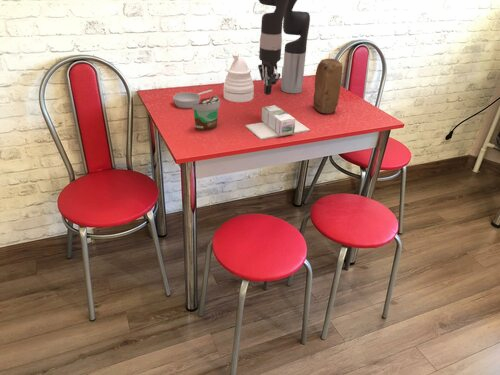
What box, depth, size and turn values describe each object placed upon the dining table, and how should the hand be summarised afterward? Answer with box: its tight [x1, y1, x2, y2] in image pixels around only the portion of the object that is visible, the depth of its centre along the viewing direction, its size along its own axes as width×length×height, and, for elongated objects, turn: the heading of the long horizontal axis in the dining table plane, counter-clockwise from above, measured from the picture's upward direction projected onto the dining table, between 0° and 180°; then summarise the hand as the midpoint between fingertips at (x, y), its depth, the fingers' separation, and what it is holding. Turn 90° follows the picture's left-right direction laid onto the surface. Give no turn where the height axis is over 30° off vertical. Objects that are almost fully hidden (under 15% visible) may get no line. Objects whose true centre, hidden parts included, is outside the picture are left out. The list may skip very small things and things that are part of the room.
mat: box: [245, 119, 311, 141], centre depth 153 cm, size 12×20×1 cm, turn 117°
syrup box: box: [261, 104, 296, 136], centre depth 151 cm, size 6×6×14 cm
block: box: [312, 58, 343, 115], centre depth 166 cm, size 11×8×20 cm
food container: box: [191, 94, 221, 131], centre depth 150 cm, size 12×6×10 cm, turn 148°
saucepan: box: [172, 89, 213, 109], centre depth 171 cm, size 11×18×4 cm, turn 131°
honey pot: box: [223, 53, 255, 103], centre depth 175 cm, size 13×13×18 cm
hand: (267, 94), depth 154 cm, fingers closed
